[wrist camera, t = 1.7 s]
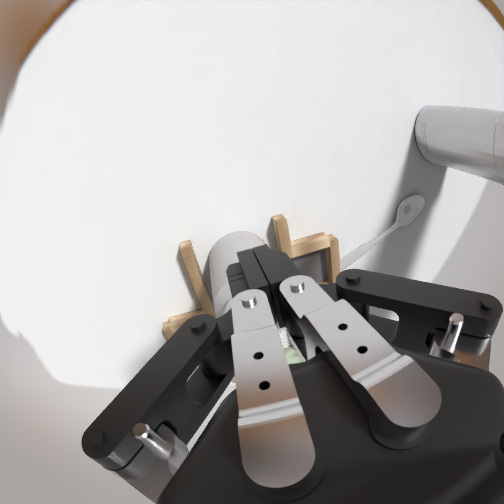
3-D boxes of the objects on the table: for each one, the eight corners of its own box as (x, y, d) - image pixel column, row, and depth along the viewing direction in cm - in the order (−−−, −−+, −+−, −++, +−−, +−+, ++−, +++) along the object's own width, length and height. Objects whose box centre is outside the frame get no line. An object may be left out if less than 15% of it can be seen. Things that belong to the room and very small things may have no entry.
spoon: (422, 206, 37) (429, 209, 35) (326, 288, 39) (331, 294, 37) (415, 185, 35) (422, 188, 34) (313, 270, 37) (318, 275, 36)
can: (259, 287, 36) (286, 349, 25) (203, 279, 34) (209, 345, 23) (275, 234, 33) (313, 283, 23) (215, 223, 31) (225, 272, 21)
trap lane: (327, 202, 33) (338, 208, 30) (337, 334, 43) (344, 346, 40) (133, 257, 31) (128, 268, 28) (194, 377, 41) (195, 391, 38)
